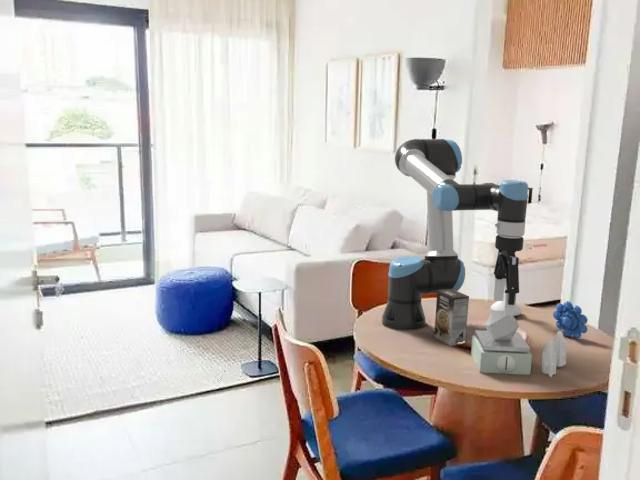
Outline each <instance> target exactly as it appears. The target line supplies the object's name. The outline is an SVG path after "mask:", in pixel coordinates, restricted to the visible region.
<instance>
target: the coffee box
mask: <svg viewBox="0 0 640 480" xmlns="http://www.w3.org/2000/svg"><path fill="white" fill-rule="evenodd" d="M469 301H470V296H469V295H466V293H465V294H464V293H462V292H460V291H459V290H458V291H456V290H454V289H449V290H448V289H446V290H437V293H436V307H435V319H434V320H435V322H434V334H433V335H434V338H435V339H437V340H439V341H441V342H442V343H444V344H446V345H447V346H449V347H452V346H457V345H456V344H457V343H458V342H463V341H465V342H466V341H467V340H466V339H467V337H466V336H467V326H468V314H469V303H470V302H469Z"/></svg>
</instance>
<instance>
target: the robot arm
mask: <svg viewBox="0 0 640 480" xmlns="http://www.w3.org/2000/svg"><path fill="white" fill-rule="evenodd" d="M394 164H395V165H396V169H398V171H399V172H401V174H402V175H404V176H406V177H410V178H412V179H413V180H414V181H415V182H417V183H418V184H419V185H420V186H421V187H422V188H423V189H424V190H426V203H427V235H428V236H427V237H428V251H427V252H426V253H425V254H424V259H423V257H420V256H417V255H413V256H410V255H408V256H407V255H406V256H401V257H397V258H395V259H393V260H392V261H391V262H390V263H389V268H388V269H389V270H388V273H387V274H388V288H387V303H386V304H385V307H384V311H383V313H382V315H381V323H382V324H383V326H385V327H387V328H389V329H394V330H400V331H416V330H417V331H418V330H420V329H423V328H424V327H425V326H426V316H425V312H424V309H423V305H422V304H423V303H422V296H423V295H431V294H437V290H446V289H448V290H449V289H454V290H456V291H458V292H459V290H460V289H461V287H462V286H463V284H464V283H465V279H466V267H465V265H464V262H463V261H462V260H461V259H459V254H458V253H457V252H456V251H455V250H454V227H453V225H454V224H453V223H454V222H453V211H454V212H456V211H489V210H490V211H494V212H497V218H496V219H497V221H496V222H497V223H495V224H494V227H496V232H495V233H496V234H497V235H496V236H495V241H494V242H495V246H494V247H495V249H497V251H498V252H497V255H496V256H497V257H496V262H495V266H494V270H493V274H494V279H495V280H494V290H493V291H494V292H493V301H494V302H495V301H496V302H497V301H503V298H504V293H506V296H505V308H504V315H510V316H514V315H515V304H517V294H519V293H520V279H519V278H520V277H519V276H520V275H519V273H520V272H519V263H520V262H519V261H520V258H519V257H518V256H517V257H515V253H516V252H521V251H522V250H523V248H524V237H523V236H525V232H526V231H525V230H526V217H527V209H528V208H527V207H528V200H529V194H528V192H529V185H528V183H527V182H526V181H523V180H514V179H513V180H512V179H510V180H509V179H508V180H507V179H506V180H505V179H504V180H502V181H501V182H500V184H496V183H493V182H483V183H479V184H469V183H468V184H467V183H466V184H461V183H460V184H459V183H458V182H456V181H455V178H456V177H457V176H456V173H458V172H459V171H461V168H462V165H463V156H462V151H461V148H460V147H459V145H458V143H457V142H456V141H454V140H451V139H444V138H433V139H432V138H430V139H429V138H426V139H424V138H423V139H422V138H421V139H420V138H414V139H409V140H407V141H405V142H403V143H402V144H401V145H400V146H398V148H397V150H396V151H395V156H394ZM505 279H506V284H507V290H505ZM514 317H515V316H514Z"/></svg>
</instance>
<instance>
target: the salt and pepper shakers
mask: <svg viewBox="0 0 640 480" xmlns="http://www.w3.org/2000/svg"><path fill="white" fill-rule="evenodd" d="M566 344H567V343H566V341H565V337H564V333H563V332H562V330H558V331H557V332H556V334H555V337H554V338H553V341H552V340H548V341H547V342H546V343H545V346H544V348H543V350H542V355H541V357H542V358H541V372H542V373H543V374H545V375H548V377H550V378H552V377H553V375H556V374H557V368H562V367H564V366H565V365H566V364H567V345H566Z"/></svg>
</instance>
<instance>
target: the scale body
mask: <svg viewBox="0 0 640 480" xmlns="http://www.w3.org/2000/svg"><path fill="white" fill-rule="evenodd" d="M470 352H471V353H470V355H471V357H472V358H473V361H474V363H475V365H476V367H477V369H478V371H479V373H482V374H483V373H485V374H504V375H505V374H506V375H527V376H530V375H531V369H532V358H533V354H532V353H531V351H530V352H518V351H496V350H483V349H482V347H481V345H480V343H479V342H478V340H477V338H476V336H475V334H473V335H472V336H471V350H470Z"/></svg>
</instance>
